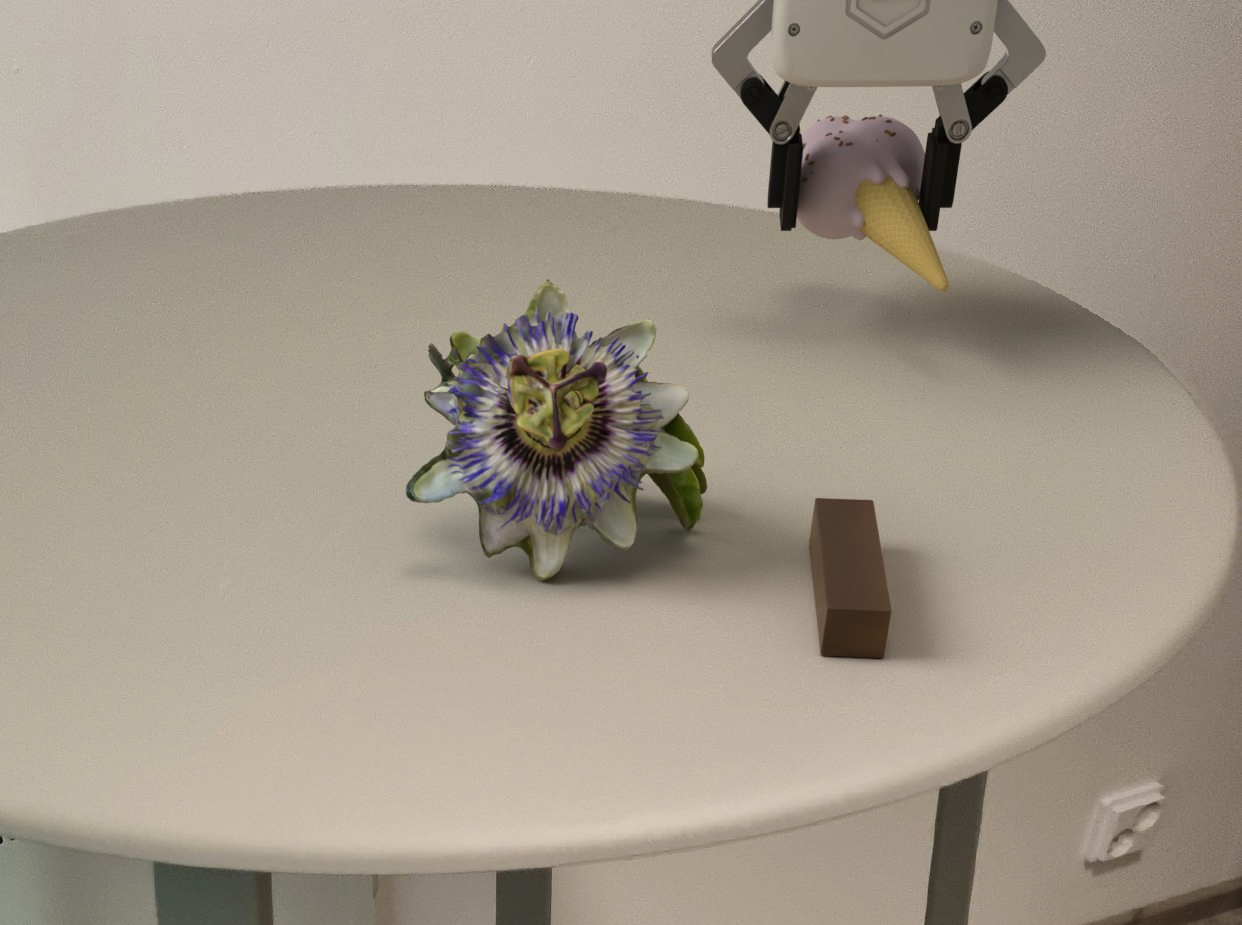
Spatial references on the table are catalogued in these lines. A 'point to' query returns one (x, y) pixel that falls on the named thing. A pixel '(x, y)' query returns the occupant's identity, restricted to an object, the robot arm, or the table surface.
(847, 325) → the table surface
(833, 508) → the rectangular block
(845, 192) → the ice cream cone
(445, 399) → the passion flower
